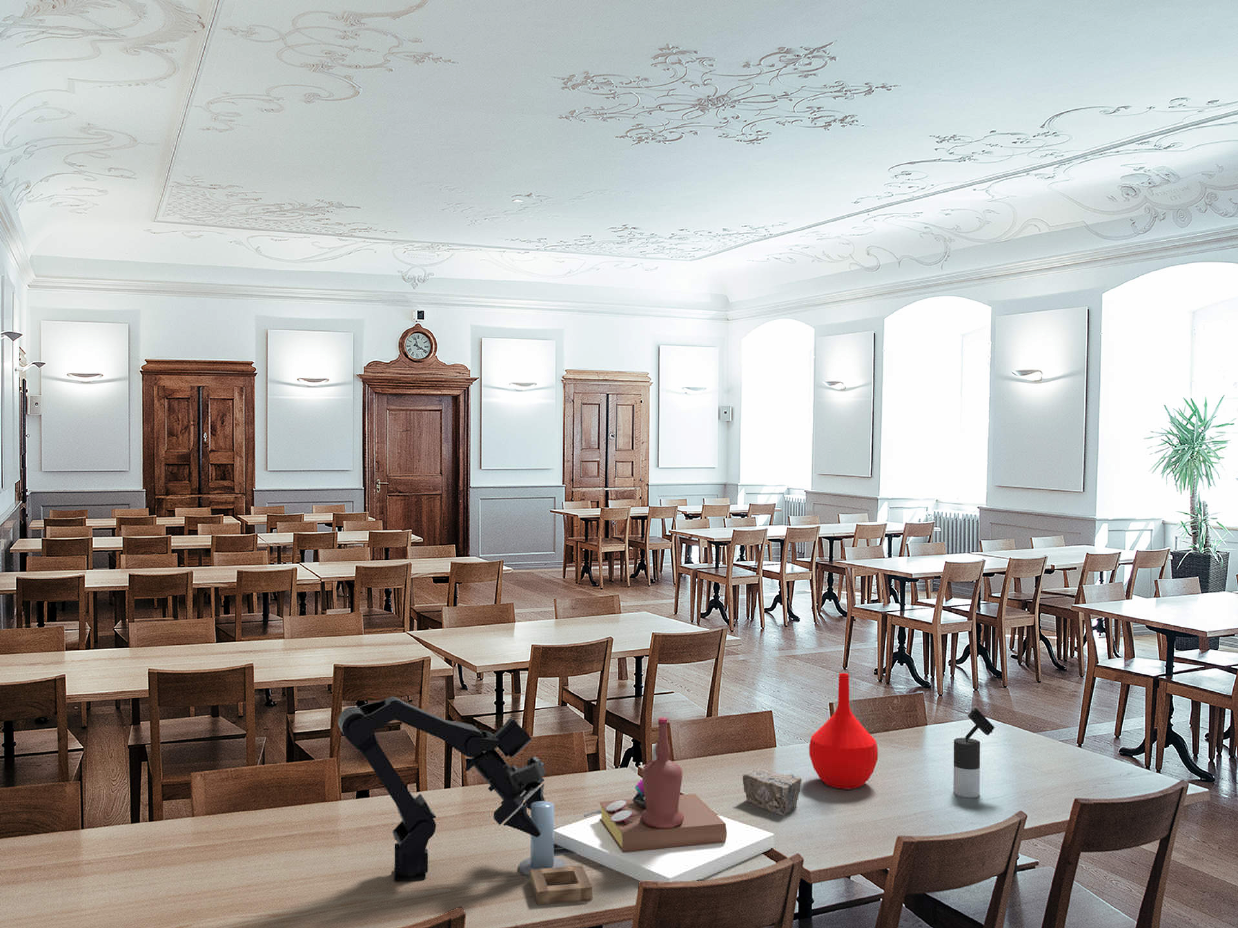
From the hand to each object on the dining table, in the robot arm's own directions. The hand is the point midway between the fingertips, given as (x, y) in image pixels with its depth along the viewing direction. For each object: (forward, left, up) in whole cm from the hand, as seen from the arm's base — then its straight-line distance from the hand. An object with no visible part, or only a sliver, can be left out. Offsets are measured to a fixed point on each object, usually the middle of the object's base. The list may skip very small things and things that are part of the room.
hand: (545, 827), depth 219 cm
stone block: (+63, +28, -9) cm, 69 cm away
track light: (+118, +26, -9) cm, 122 cm away
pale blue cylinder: (-1, 0, -8) cm, 8 cm away
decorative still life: (+27, +9, -9) cm, 30 cm away
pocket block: (+1, -12, -9) cm, 15 cm away
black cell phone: (+5, +14, -9) cm, 18 cm away
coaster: (-1, 0, -9) cm, 9 cm away
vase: (+87, +40, -9) cm, 97 cm away
